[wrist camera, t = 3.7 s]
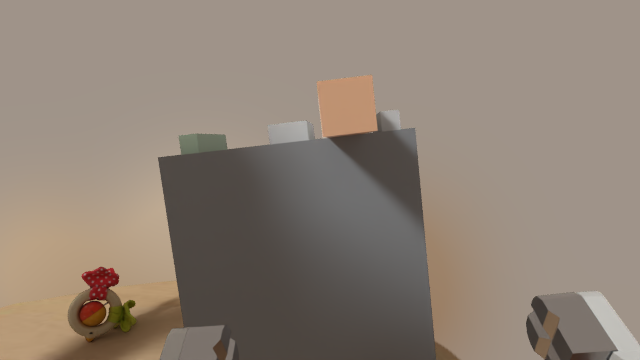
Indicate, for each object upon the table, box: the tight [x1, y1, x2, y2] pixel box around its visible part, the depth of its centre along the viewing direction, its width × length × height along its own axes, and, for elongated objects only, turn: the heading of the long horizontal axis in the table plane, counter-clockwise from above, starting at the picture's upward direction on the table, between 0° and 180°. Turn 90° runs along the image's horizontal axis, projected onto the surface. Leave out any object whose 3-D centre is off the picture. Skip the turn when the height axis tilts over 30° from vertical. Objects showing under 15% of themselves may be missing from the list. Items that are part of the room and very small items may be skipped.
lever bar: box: [317, 75, 378, 138], centre depth 29 cm, size 24×3×3 cm, turn 177°
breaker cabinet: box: [158, 110, 436, 360], centre depth 37 cm, size 16×18×28 cm
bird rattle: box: [68, 267, 136, 342], centre depth 61 cm, size 6×11×9 cm
